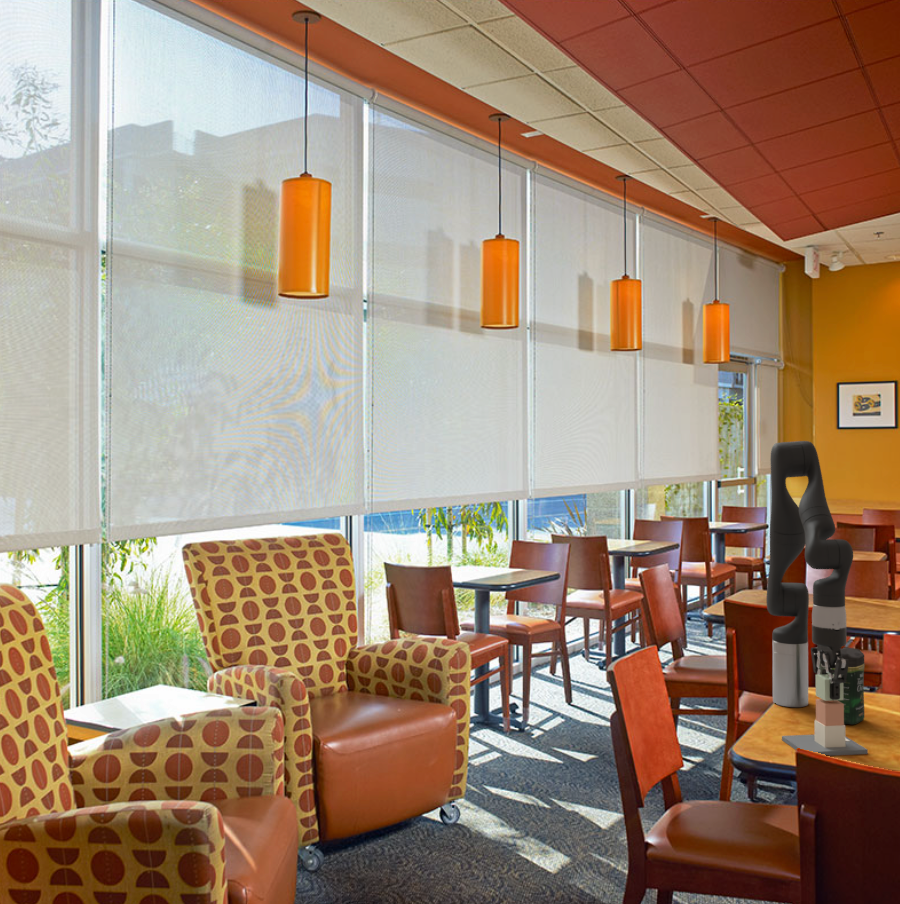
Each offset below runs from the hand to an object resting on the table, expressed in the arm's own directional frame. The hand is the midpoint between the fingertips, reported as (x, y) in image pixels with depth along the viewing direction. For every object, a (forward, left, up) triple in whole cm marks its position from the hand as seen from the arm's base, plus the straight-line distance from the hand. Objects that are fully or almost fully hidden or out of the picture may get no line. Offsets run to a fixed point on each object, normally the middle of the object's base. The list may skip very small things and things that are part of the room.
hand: (829, 696), depth 219 cm
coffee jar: (-20, +15, -12) cm, 28 cm away
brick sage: (0, 0, 0) cm, 0 cm away
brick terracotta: (0, 0, -6) cm, 6 cm away
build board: (-1, -1, -12) cm, 12 cm away
